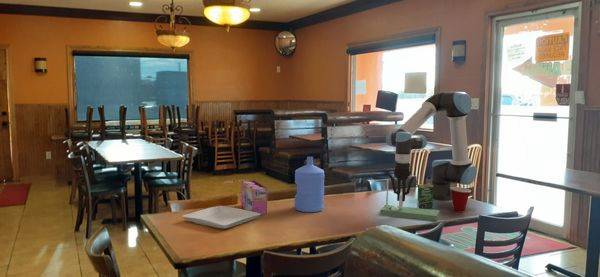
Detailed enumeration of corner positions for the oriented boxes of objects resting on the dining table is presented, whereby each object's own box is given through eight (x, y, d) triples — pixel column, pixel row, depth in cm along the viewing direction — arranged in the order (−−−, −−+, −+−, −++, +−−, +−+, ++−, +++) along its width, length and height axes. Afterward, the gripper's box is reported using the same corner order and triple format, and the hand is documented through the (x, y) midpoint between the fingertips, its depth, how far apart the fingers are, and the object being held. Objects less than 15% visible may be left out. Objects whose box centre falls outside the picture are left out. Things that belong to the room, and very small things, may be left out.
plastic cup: (471, 213, 248) (472, 191, 247) (450, 212, 250) (451, 189, 249) (468, 208, 259) (469, 187, 258) (448, 207, 261) (449, 186, 260)
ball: (391, 212, 247) (392, 205, 247) (399, 213, 246) (399, 205, 246) (390, 214, 244) (390, 206, 244) (397, 214, 242) (398, 207, 242)
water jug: (329, 209, 252) (330, 157, 249) (310, 214, 240) (311, 160, 238) (308, 204, 262) (308, 154, 260) (288, 209, 251) (289, 156, 248)
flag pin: (386, 205, 253) (387, 179, 251) (387, 205, 252) (388, 179, 251) (384, 206, 249) (385, 180, 248) (386, 206, 249) (387, 180, 248)
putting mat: (385, 209, 254) (385, 204, 254) (439, 215, 243) (439, 210, 243) (380, 214, 243) (380, 209, 243) (436, 220, 232) (436, 215, 232)
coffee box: (418, 208, 257) (419, 184, 256) (416, 207, 260) (417, 183, 259) (432, 208, 257) (433, 185, 256) (431, 207, 260) (432, 184, 259)
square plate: (225, 233, 207) (225, 224, 206) (180, 223, 221) (180, 215, 221) (261, 220, 230) (262, 212, 229) (219, 211, 244) (219, 204, 244)
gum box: (239, 205, 258) (240, 180, 257) (253, 203, 261) (254, 179, 260) (252, 215, 236) (252, 188, 235) (267, 214, 239) (267, 188, 238)
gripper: (388, 162, 240) (386, 207, 242) (414, 163, 235) (412, 210, 237) (391, 160, 247) (389, 204, 249) (416, 162, 242) (414, 207, 244)
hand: (400, 207), depth 243 cm, fingers closed
